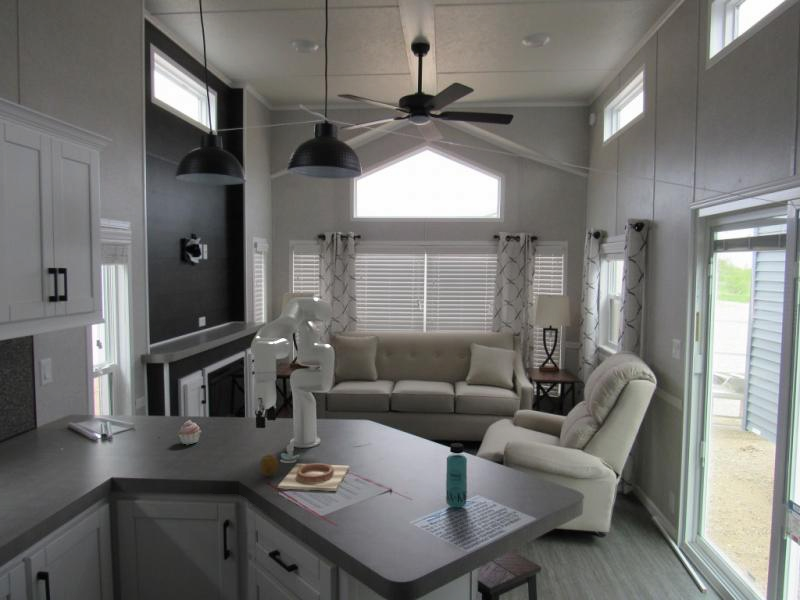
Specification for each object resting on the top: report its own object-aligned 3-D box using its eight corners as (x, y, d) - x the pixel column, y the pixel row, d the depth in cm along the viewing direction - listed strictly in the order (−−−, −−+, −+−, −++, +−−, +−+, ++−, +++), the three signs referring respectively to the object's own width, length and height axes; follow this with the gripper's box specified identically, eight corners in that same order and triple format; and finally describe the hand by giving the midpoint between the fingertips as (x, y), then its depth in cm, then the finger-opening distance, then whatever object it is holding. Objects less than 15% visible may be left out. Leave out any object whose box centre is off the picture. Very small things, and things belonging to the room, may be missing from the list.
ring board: (297, 466, 201) (296, 458, 201) (349, 468, 199) (349, 460, 198) (278, 488, 182) (278, 479, 181) (336, 491, 179) (336, 482, 179)
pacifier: (294, 465, 204) (301, 459, 210) (294, 449, 203) (300, 443, 209) (276, 463, 206) (283, 457, 211) (276, 447, 205) (283, 442, 211)
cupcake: (206, 441, 231) (205, 418, 230) (187, 448, 223) (186, 424, 222) (192, 438, 236) (191, 415, 235) (173, 444, 228) (172, 420, 227)
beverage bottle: (444, 503, 170) (444, 441, 168) (465, 502, 170) (465, 440, 169) (447, 512, 163) (447, 448, 162) (469, 511, 164) (469, 447, 162)
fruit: (262, 481, 188) (262, 458, 188) (258, 475, 194) (257, 453, 193) (280, 477, 191) (279, 455, 190) (275, 471, 197) (275, 450, 196)
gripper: (265, 371, 199) (265, 417, 200) (244, 380, 182) (245, 430, 183) (284, 371, 198) (285, 417, 199) (265, 381, 181) (266, 431, 182)
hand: (266, 423), depth 191 cm, fingers open, 9 cm apart
